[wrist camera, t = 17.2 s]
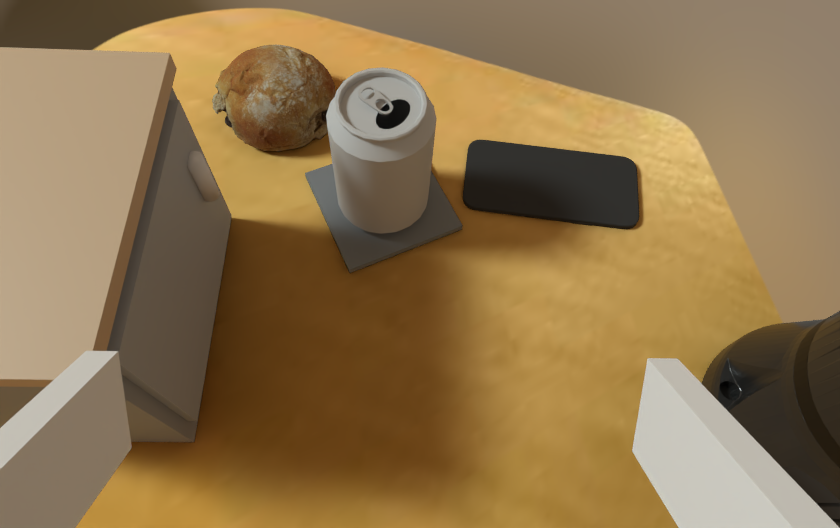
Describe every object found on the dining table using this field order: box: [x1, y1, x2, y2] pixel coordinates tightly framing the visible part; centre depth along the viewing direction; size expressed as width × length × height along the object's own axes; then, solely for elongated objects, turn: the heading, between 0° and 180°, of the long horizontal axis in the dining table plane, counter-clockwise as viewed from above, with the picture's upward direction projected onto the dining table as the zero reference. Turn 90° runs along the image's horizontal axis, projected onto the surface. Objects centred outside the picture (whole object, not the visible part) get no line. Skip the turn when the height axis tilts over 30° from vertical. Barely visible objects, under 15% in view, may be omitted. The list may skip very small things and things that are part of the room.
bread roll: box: [213, 45, 335, 152], centre depth 52 cm, size 10×10×8 cm
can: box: [326, 68, 436, 234], centre depth 44 cm, size 8×8×12 cm
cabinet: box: [0, 47, 232, 442], centre depth 37 cm, size 14×19×17 cm
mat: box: [305, 164, 462, 273], centre depth 50 cm, size 10×10×1 cm
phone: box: [463, 140, 639, 229], centre depth 52 cm, size 7×1×15 cm
